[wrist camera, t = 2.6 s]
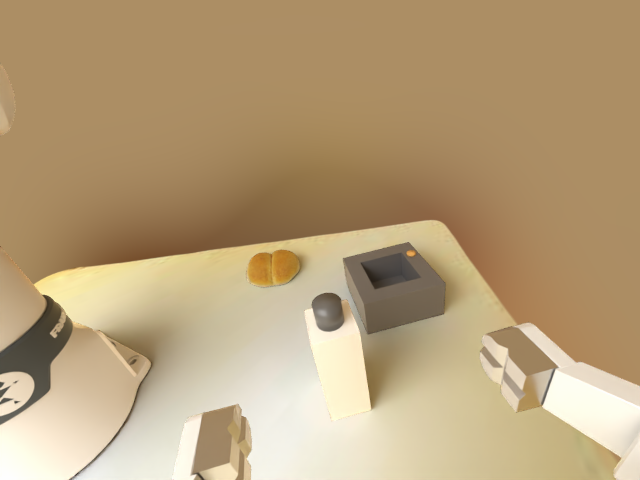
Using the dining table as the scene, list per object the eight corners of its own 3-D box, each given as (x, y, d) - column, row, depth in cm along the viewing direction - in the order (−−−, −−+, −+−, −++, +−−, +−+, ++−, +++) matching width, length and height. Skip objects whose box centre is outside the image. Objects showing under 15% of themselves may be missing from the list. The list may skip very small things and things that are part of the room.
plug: (331, 421, 29) (305, 327, 22) (323, 384, 32) (299, 293, 26) (371, 410, 29) (357, 313, 22) (359, 374, 32) (344, 282, 26)
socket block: (367, 334, 37) (363, 302, 34) (347, 285, 45) (342, 256, 43) (443, 313, 38) (445, 281, 35) (409, 269, 46) (408, 240, 43)
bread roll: (301, 284, 48) (296, 264, 46) (247, 293, 48) (239, 274, 46) (301, 255, 55) (296, 237, 53) (253, 264, 55) (247, 246, 53)
